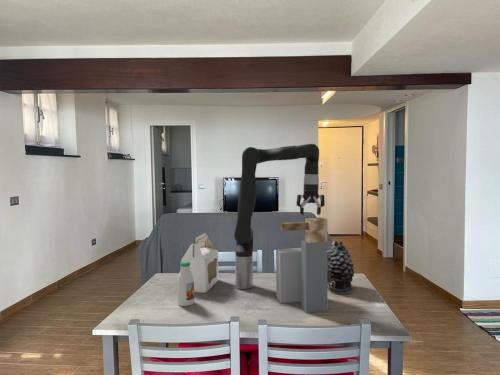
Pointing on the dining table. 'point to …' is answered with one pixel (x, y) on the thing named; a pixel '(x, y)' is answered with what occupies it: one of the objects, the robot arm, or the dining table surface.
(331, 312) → the dining table surface
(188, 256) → the gable box
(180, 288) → the milk bottle
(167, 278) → the dining table surface
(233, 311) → the dining table surface
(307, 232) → the oak block with handle
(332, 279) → the dark fir cone
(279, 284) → the slate shelf stand
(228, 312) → the dining table surface
